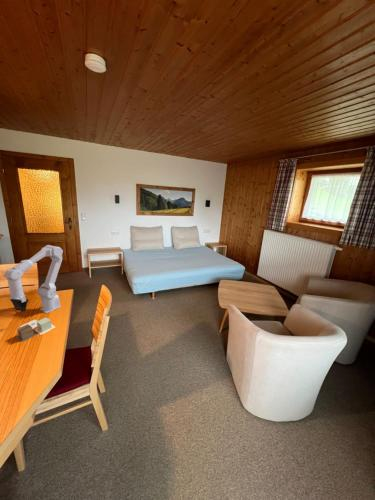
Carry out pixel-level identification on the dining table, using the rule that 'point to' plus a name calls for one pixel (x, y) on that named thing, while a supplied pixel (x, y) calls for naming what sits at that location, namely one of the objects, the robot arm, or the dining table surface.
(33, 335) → the coaster
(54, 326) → the card
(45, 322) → the sage block
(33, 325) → the card
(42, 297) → the robot arm
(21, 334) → the walnut block
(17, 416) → the dining table surface
